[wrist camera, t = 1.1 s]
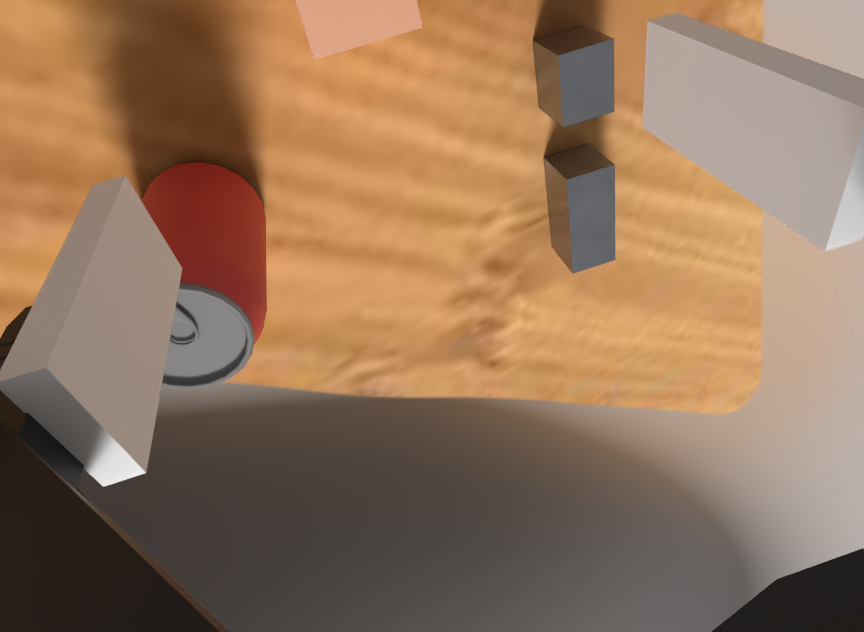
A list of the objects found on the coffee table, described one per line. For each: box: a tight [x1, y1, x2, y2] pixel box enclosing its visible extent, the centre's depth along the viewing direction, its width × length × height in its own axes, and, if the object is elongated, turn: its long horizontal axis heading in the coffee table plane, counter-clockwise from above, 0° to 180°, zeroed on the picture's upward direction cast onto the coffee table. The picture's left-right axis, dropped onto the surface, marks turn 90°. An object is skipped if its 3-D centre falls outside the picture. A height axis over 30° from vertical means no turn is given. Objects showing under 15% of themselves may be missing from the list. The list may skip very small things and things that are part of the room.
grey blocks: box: [533, 25, 615, 273], centre depth 31 cm, size 24×3×4 cm, turn 12°
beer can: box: [142, 162, 267, 389], centre depth 28 cm, size 7×7×12 cm
